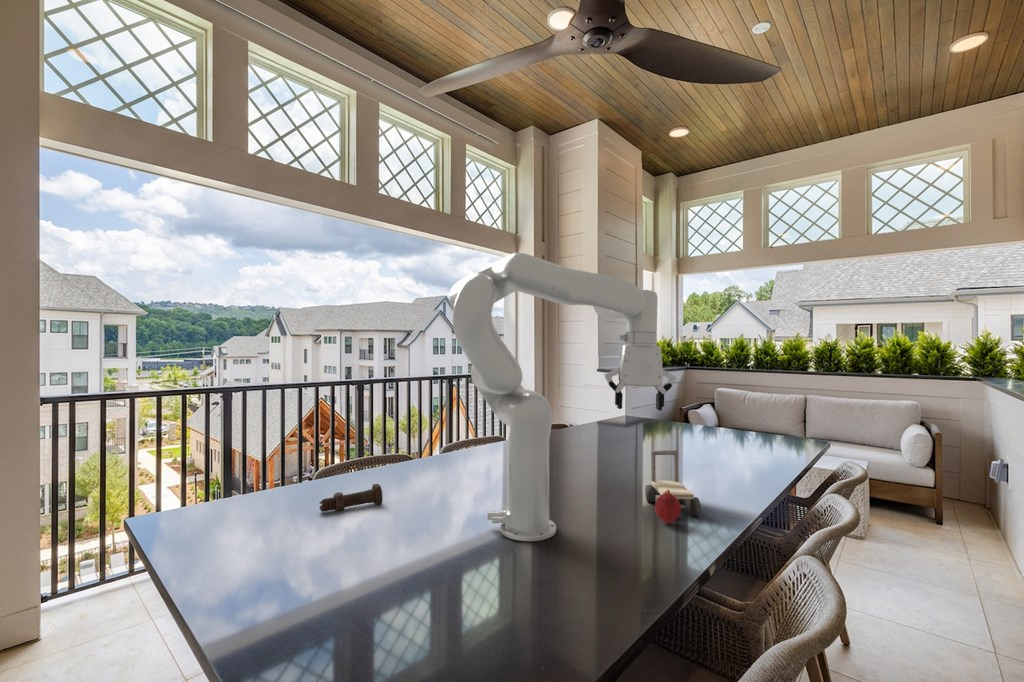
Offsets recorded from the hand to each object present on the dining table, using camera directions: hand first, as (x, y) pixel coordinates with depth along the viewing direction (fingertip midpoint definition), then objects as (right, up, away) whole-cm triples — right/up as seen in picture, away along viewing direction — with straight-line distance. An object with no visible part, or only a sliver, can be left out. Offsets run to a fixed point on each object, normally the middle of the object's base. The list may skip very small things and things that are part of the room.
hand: (639, 409), depth 117 cm
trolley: (+9, -26, +4) cm, 28 cm away
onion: (+5, -26, -6) cm, 27 cm away
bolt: (-73, -27, +5) cm, 78 cm away
